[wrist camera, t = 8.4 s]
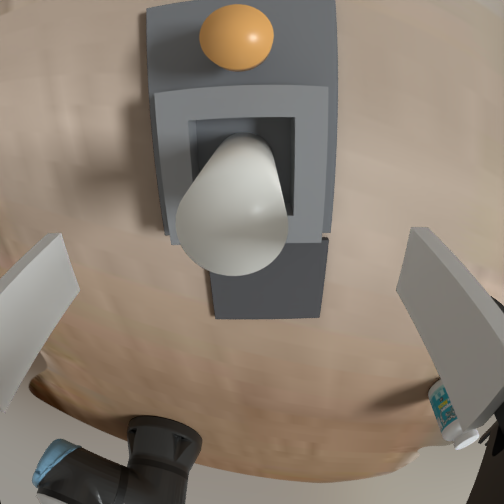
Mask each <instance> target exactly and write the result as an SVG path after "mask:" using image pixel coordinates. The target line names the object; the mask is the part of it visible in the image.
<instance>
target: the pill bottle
mask: <svg viewBox="0 0 504 504" xmlns="http://www.w3.org/2000/svg"><path fill="white" fill-rule="evenodd" d="M428 397H429V400H430V403H431V405H432V408H433V411H434V414H435V416H436V419H437V422H438V425H439V428H440V430H441V433H442V436H443V438H444V439H445V440H447V441H454V447H455V449H456V450H459V449H462V448H464V447H466V446H468V445H470V444H472V443H473V442H474V441H476V440H477V439H478V437H479V433H478V430H476V429H473V430H470V431H467V432H465V433H463V431H462V429H461V426H460V424H459V421H458V418H457V416H456V413H455V411H454V408H453V406H452V403H451V401H450V399H449V396H448V394H447V392H446V389H445V387H444V385H443V382H442V380H441V379H440V380H438V381H437V382H436V383H435V384H434V385H433V386H432V387H431V388H430V390H429V392H428Z"/></svg>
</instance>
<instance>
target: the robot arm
mask: <svg viewBox="0 0 504 504" xmlns="http://www.w3.org/2000/svg"><path fill="white" fill-rule="evenodd" d="M79 291H80V288H79V286H78V283H77V280H76V277H75V274H74V272H73V269H72V266H71V263H70V260H69V257H68V253H67V250H66V247H65V244H64V240H63V237H62V234H61V233H49V234H47V235H46V236H44V237H43V238H42V239H41V240H40V241H39V242H38V243H37V244H36V245H34V246H33V247H32V248H31V249H30V250H29V251H28V252H27V253H26V254H25V255H24V256H23V257H22V258H21V259H20V260H19V261H18V262H17V263H16V264H15V265H13V266H12V267H11V268H10V269H9V270H8V271H7V273H6V274H5V275H4V276H3V277H2V278H1V279H0V411H2V412H4V413H5V412H6V410H7V408H8V407H9V405H10V402H11V401H12V399H13V397H14V395H15V393H16V391H17V389H18V388H19V386H20V384H21V382H22V380H23V379H24V377H25V375H26V373H27V371H28V370H29V368H30V366H31V365H32V363H33V361H34V360H35V358H36V356H37V355H38V353H39V351H40V350H41V348H42V347H43V345H44V343H45V342H46V340H47V339H48V337H49V336H50V334H51V332H52V331H53V329H54V328H55V326H56V325H57V323H58V322H59V320H60V319H61V317H62V316H63V314H64V313H65V311H66V310H67V308H68V307H69V306H70V304H71V303H72V301H73V300H74V298H75V297H76V296H77V294H78V293H79ZM396 291H397V293H398V294H399V296H400V298H401V300H402V302H403V304H404V305H405V307H406V309H407V311H408V313H409V315H410V317H411V319H412V320H413V322H414V324H415V326H416V328H417V330H418V332H419V334H420V336H421V338H422V340H423V342H424V344H425V346H426V348H427V350H428V352H429V354H430V356H431V358H432V361H433V363H434V365H435V367H436V369H437V371H438V374H439V376H440V378H441V380H442V382H443V385H444V387H445V389H446V392H447V394H448V396H449V399H450V401H451V403H452V406H453V408H454V411H455V413H456V416H457V418H458V421H459V424H460V426H461V429H462V431H463V433H465V432H467V431H470V430H473V429H476V428H478V427H481V426H483V425H484V424H485V423H486V422H487V421H488V419H489V418H490V417H491V416H492V415H493V414H495V417H496V419H497V421H496V422H495V423H494V424H493V425H492V426H491V427H490V428H489V429H488V431H486V433H484V434H483V436H482V437H481V438H480V440H479V442H478V443H480V444H481V443H482V442H483V441H484V440H485V439H486V438H487V437H488V436H489V435H490V436H489V440H488V441H487V443H486V444H485V446H487V447H486V450H485V454H484V457H483V460H482V463H481V466H480V469H479V472H478V475H477V478H476V480H475V483H474V486H473V488H472V491H471V493H470V496H469V499H468V501H467V503H466V504H504V306H503V305H502V304H501V303H500V302H498V301H497V300H496V299H494V298H493V297H492V296H490V295H489V294H488V293H487V292H486V290H485V289H484V288H483V287H482V286H481V284H480V283H479V282H478V281H477V280H476V278H475V277H474V276H473V275H472V274H471V273H470V271H469V270H468V269H467V268H466V267H465V266H464V265H463V264H462V262H461V261H460V260H459V259H458V258H457V257H456V256H455V255H454V254H453V253H452V252H451V250H450V249H449V248H448V247H447V246H446V245H445V244H444V243H443V242H442V241H441V240H440V239H439V238H438V237H437V236H436V235H435V234H434V233H433V232H432V231H431V230H430V229H429V228H428V227H411V229H410V234H409V239H408V244H407V248H406V252H405V257H404V261H403V265H402V269H401V273H400V277H399V280H398V284H397V288H396ZM127 438H128V448H129V461H128V465H127V467H125V466H123V465H120V464H118V463H115V462H113V461H110V460H108V459H106V458H103V457H101V456H99V455H97V454H94V453H92V452H90V451H88V450H86V449H84V448H82V447H81V446H79V445H75V444H72V443H70V442H68V441H66V440H64V439H57V440H54V441H53V442H52V443H51V444H50V445H49V447H48V448H47V449H46V451H45V452H44V454H43V456H42V457H41V459H40V461H39V463H38V465H37V469H36V471H35V472H34V474H33V478H32V483H33V485H34V486H35V487H36V488H38V491H37V495H36V496H37V498H38V500H39V502H40V504H185V499H186V491H187V482H188V475H189V471H190V470H191V468H192V466H193V464H194V462H195V461H196V459H197V457H198V455H199V453H200V451H201V446H202V438H201V436H200V435H199V434H198V433H197V432H196V431H195V430H193V429H191V428H190V427H188V426H186V425H183V424H181V423H178V422H176V421H172V420H169V419H165V418H160V417H152V416H141V417H136V418H133V419H132V420H131V421H130V423H129V426H128V430H127ZM0 504H1V502H0Z"/></svg>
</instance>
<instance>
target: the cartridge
mask: <svg viewBox="0 0 504 504" xmlns="http://www.w3.org/2000/svg"><path fill="white" fill-rule="evenodd" d="M175 224H176V232H177V237H178V239H179V242H180V244H181V246H182V248H183V249H184V251H185V252H186V254H187V255H188V256H189V257H190V258H191V259H192V260H193V261H194V262H195V263H196V264H198V265H199V266H201V267H202V268H204V269H206V270H208V271H211V272H213V273H216V274H220V275H226V276H242V275H247V274H251V273H254V272H256V271H259V270H261V269H263V268H264V267H266V266H267V265H269V264H270V263H271V262H272V261H273V260H274V259H275V258H276V257H277V256H278V255H279V254H280V252H281V250H282V249H283V247H284V245H285V242H286V239H287V235H288V217H287V212H286V208H285V204H284V199H283V195H282V191H281V186H280V182H279V178H278V174H277V170H276V165H275V161H274V157H273V153H272V150H271V148H270V146H269V145H268V143H267V142H266V141H265V140H264V139H263V138H261V137H260V136H258V135H256V134H253V133H248V132H241V133H236V134H233V135H231V136H229V137H227V138H226V139H225V140H224V141H223V142H222V143H221V144H220V146H219V147H218V148H217V150H216V151H215V152H214V154H213V155H212V156H211V158H210V159H209V161H208V162H207V163H206V165H205V166H204V168H203V169H202V170H201V172H200V173H199V175H198V176H197V178H196V179H195V180H194V182H193V183H192V185H191V186H190V188H189V189H188V191H187V192H186V194H185V195H184V196H183V198H182V200H181V202H180V204H179V206H178V209H177V213H176V222H175Z"/></svg>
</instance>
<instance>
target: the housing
mask: <svg viewBox="0 0 504 504" xmlns="http://www.w3.org/2000/svg"><path fill="white" fill-rule="evenodd" d="M233 4H242V5H248V6H251V7H254V8H256V9H258V10H259V11H261V12H262V13H263V14H265V15H266V17H267V18H268V19H269V21H270V22H271V25H272V27H273V32H274V39H273V44H272V47H271V50H270V53H269V55H268V57H267V58H266V60H265V61H264V62H263V63H262V64H260V65H259V66H257V67H256V68H254V69H251V70H248V71H243V72H234V71H229V70H226V69H223V68H221V67H219V66H218V65H217V64H215V63H214V62H213V61H211V60H210V59H209V58H208V57H207V56H206V55H205V54H204V52H203V50H202V48H201V45H200V40H199V35H200V29H201V27H202V25H203V23H204V21H205V20H206V18H207V17H208V16H209V15H210V14H211V13H213V12H214V11H215V10H217V9H219V8H221V7H224V6H227V5H233ZM147 67H148V87H149V102H150V116H151V128H152V139H153V149H154V158H155V167H156V175H157V183H158V191H159V198H160V205H161V212H162V219H163V226H164V232H165V235H170V239H171V245H181V244H180V242H179V239H178V237H177V232H176V224H175V222H176V213H177V209H178V206H179V204H180V202H181V200H182V198H183V196H184V195H185V194H186V192H187V191H188V189H189V188H190V186H191V185H192V183H193V182H194V180H195V179H196V178H197V176H198V175H199V173H200V172H201V170H202V169H203V168H204V166H205V165H206V163H207V162H208V161H209V159H210V158H211V156H212V155H213V154H214V152H215V151H216V150H217V148H218V147H219V146H220V144H221V143H222V142H223V141H224V140H225V139H226V138H227V137H229V136H231V135H233V134H236V133H241V132H248V133H253V134H256V135H258V136H260V137H261V138H263V139H264V140H265V141H266V142H267V143H268V145H269V146H270V148H271V150H272V153H273V157H274V161H275V165H276V170H277V174H278V178H279V182H280V186H281V191H282V195H283V199H284V204H285V208H286V212H287V217H288V235H287V239H286V242H285V243H321V241H322V233H331V222H332V211H333V198H334V184H335V167H336V147H337V117H338V50H337V22H336V4H335V0H194V1H186V2H180V3H173V4H167V5H162V6H157V7H152V8H147Z"/></svg>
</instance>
